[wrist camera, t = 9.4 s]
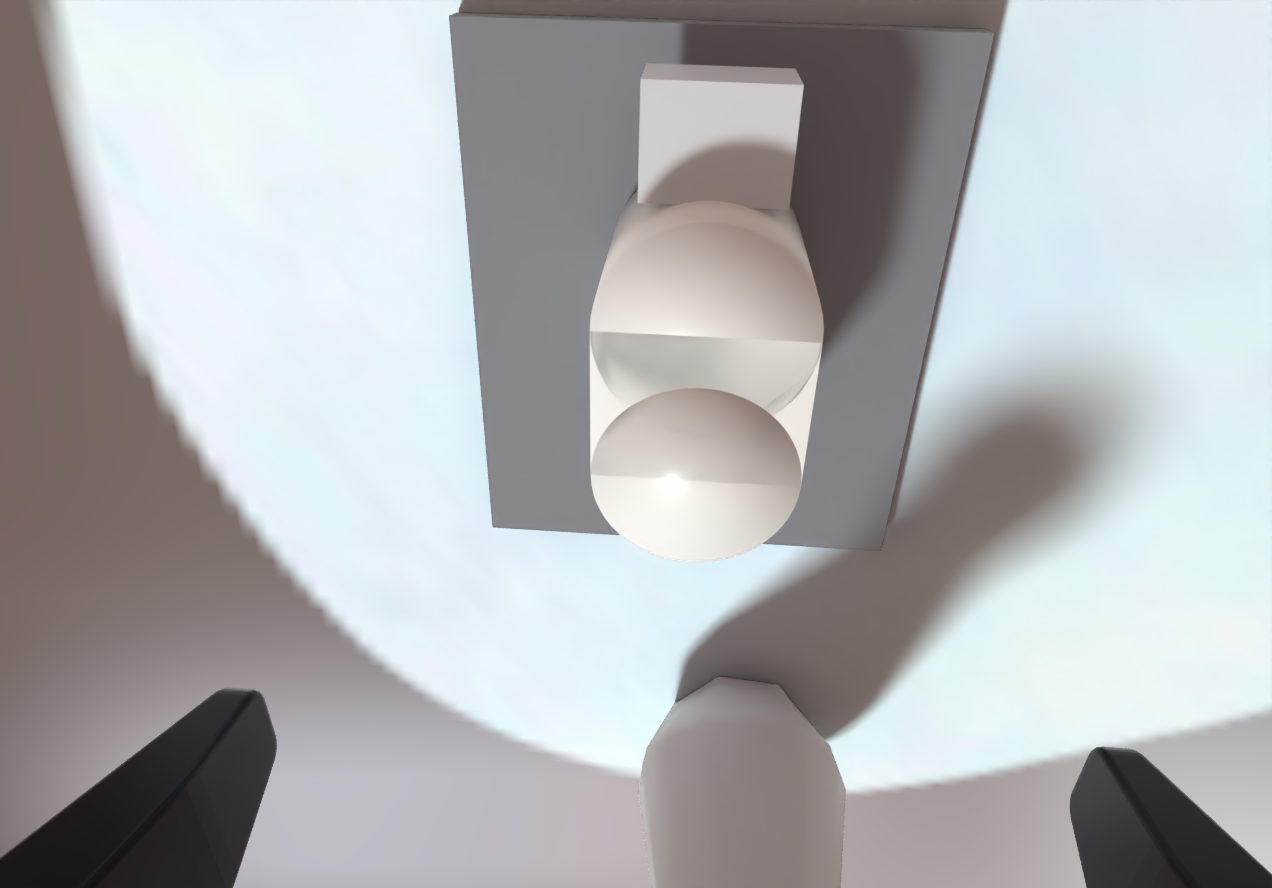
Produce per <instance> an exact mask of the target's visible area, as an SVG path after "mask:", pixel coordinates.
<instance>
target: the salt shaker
mask: <svg viewBox="0 0 1272 888" xmlns="http://www.w3.org/2000/svg"><path fill="white" fill-rule="evenodd" d="M845 793H846V790H845V787H844V784H843V781H842V778H841V775H840V772H839V769H838V767H837V764H836V761H835V759H834V756H833V754H832V751H831V748H830V746H829V744H828V743H827V742H826V741H825V740H824V739H823V738H822V736H821V735H820V734H819V733H818V732H817V731H816V729H815V728H814V727H813V726H812V725H811V724H810V723H809V721H808V720H807V719H806V718H805V717H804V716H803V714H802V713H801V712H800V711H799V710H798V709H797V708H796V706H795V705H794V704H793V703H792V702H791V700H790V699H789V698H788V696H787V695H786V693H785V692H784V691H783V689H782V688H781V687H780V685H779V684H771V683H764V682H756V681H749V680H741V679H734V678H726V677H719V676H718V677H717V678H715V679H713V680H712V681H710V682H709V683H707V684H705V685H704V686H702V687H700V688H699V689H697V690H696V691H694V692H692V693H691V694H689V695H688V696H686V697H684V698H683V699H681V700H679V701H678V702H676V703H675V704H674V705H673V706H672V708H671V710H670V711H669V713H668V715H667V716H666V718H665V719H664V721H663V723H662V724H661V726H660V728H659V729H658V731H657V732H656V734H655V736H654V737H653V739H652V740H651V742H650V744H649V745H648V747H647V749H646V753H645V757H644V761H643V766H642V772H641V778H640V784H639V791H638V794H639V801H640V809H641V816H642V823H643V831H644V839H645V846H646V853H647V860H648V868H649V876H650V883H651V888H840V887H841V870H842V850H843V831H844V812H845Z"/></svg>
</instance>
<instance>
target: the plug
mask: <svg viewBox="0 0 1272 888" xmlns="http://www.w3.org/2000/svg"><path fill="white" fill-rule="evenodd" d="M803 88H804V84H803V82H802V80H801V79H800V77H799V75H798V73H797V71H796V69H794V68H766V67H739V66H711V65H684V64H656V63H647V64H646V66H645V69H644V71H643V74H642V76H641V80H640V122H639V163H638V190H637V191H636V192H635V193H634V194H633V195H632V196H631V198H630V199H629V201H628V202H627V204H626V205H625V207H624V209H623V210H622V212H621V214H620V216H619V219H618V222H617V224H616V227H615V230H614V234H613V237H612V241H611V244H610V248H609V251H608V255H607V258H606V262H605V265H604V269H603V272H602V275H601V279H600V282H599V286H598V289H597V293H596V296H595V300H594V303H593V308H592V313H591V318H590V471H591V486H592V490H593V494H594V498H595V500H596V502H597V505H598V507H599V509H600V511H601V512H602V514H603V516H604V517H605V519H606V520H607V521H608V523H609V524H610V525H611V526H612V527H613V528H614V529H615V530H616V531H617V532H618V533H619V534H620V535H621V536H622V537H624V538H625V539H626V540H628V541H629V542H630V543H632V544H634V545H635V546H637V547H639V548H640V549H642V550H645V551H647V552H649V553H651V554H654V555H657V556H660V557H663V558H667V559H672V560H676V561H685V562H709V561H718V560H723V559H728V558H731V557H734V556H738V555H741V554H743V553H745V552H748V551H750V550H752V549H754V548H756V547H757V546H759V545H761V544H762V543H764V542H765V541H767V540H768V539H769V538H771V537H772V536H773V535H774V534H775V533H776V532H777V531H778V530H779V529H780V528H781V527H782V526H783V525H784V523H785V522H786V521H787V520H788V518H789V516H790V515H791V513H792V511H793V510H794V507H795V505H796V502H797V500H798V497H799V493H800V488H801V483H802V476H803V469H804V463H805V456H806V450H807V443H808V437H809V430H810V423H811V417H812V410H813V404H814V397H815V390H816V384H817V377H818V371H819V364H820V358H821V351H822V344H823V333H824V324H823V313H822V308H821V304H820V299H819V296H818V292H817V289H816V285H815V281H814V278H813V274H812V270H811V267H810V263H809V260H808V256H807V252H806V249H805V245H804V242H803V238H802V234H801V231H800V227H799V224H798V221H797V218H796V216H795V213H794V211H793V209H792V207H791V206H790V198H791V189H792V181H793V172H794V164H795V155H796V147H797V138H798V130H799V122H800V113H801V105H802V96H803Z"/></svg>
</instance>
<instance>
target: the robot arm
mask: <svg viewBox="0 0 1272 888" xmlns="http://www.w3.org/2000/svg"><path fill="white" fill-rule="evenodd" d="M276 750H277V740H276V735H275V731H274V728H273V725H272V722H271V718H270V715H269V711H268V708H267V705H266V702H265V698H264V697H263V695H262V693H260V692H259V691H258V690H255V689H243V688H224V689H221V690H219V691H217V692H216V693H214V694H213V695H211V696H210V697H209V698H207V699H206V700H205V701H203V702H202V703H201V704H200V705H198V706H197V707H196V708H194V709H193V710H192V711H190V712H189V713H188V714H187V715H185V716H184V717H183V718H182V719H180V720H179V721H177V722H176V723H175V724H174V725H172V726H171V727H170V728H168V729H167V730H166V731H164V732H163V733H162V734H161V735H159V736H158V737H157V738H155V739H154V740H153V741H152V742H150V743H149V744H148V745H146V746H145V747H144V748H142V749H141V750H140V751H138V752H137V753H136V754H135V755H133V756H132V757H131V758H129V759H128V760H127V761H126V762H124V763H123V764H121V765H120V766H119V767H118V768H116V769H115V770H114V771H112V772H111V773H110V774H108V775H107V776H106V777H104V778H103V779H102V780H101V781H99V782H98V783H97V784H95V785H94V786H93V787H92V788H90V789H89V790H88V791H86V792H85V793H84V794H82V795H81V796H80V797H78V798H77V799H76V800H75V801H73V802H72V803H71V804H69V805H68V806H67V807H65V808H64V809H63V810H62V811H60V812H59V813H58V814H56V815H55V816H54V817H52V818H51V819H50V820H49V821H47V822H46V823H45V824H43V825H42V826H41V827H40V828H38V829H37V830H35V831H34V832H33V833H32V834H30V835H29V836H28V837H26V838H25V839H24V840H23V841H21V842H20V843H19V844H17V845H16V846H15V847H13V848H12V849H11V850H9V851H8V852H7V853H6V854H4V855H3V856H2V857H0V888H233V886H234V883H235V880H236V877H237V874H238V871H239V868H240V865H241V862H242V859H243V856H244V853H245V849H246V847H247V844H248V841H249V837H250V834H251V831H252V828H253V825H254V822H255V819H256V816H257V813H258V810H259V807H260V803H261V800H262V797H263V794H264V791H265V788H266V785H267V782H268V779H269V776H270V773H271V770H272V767H273V763H274V760H275V756H276ZM1070 814H1071V820H1072V825H1073V829H1074V834H1075V838H1076V842H1077V847H1078V851H1079V856H1080V860H1081V865H1082V869H1083V873H1084V878H1085V882H1086V887H1087V888H1272V874H1271V873H1270V872H1269V871H1268V870H1267V869H1266V868H1265V867H1264V866H1262V865H1261V864H1260V863H1259V862H1258V861H1257V860H1256V859H1255V858H1254V857H1253V856H1252V855H1251V854H1249V853H1248V852H1247V851H1246V850H1245V849H1244V848H1243V847H1242V846H1241V845H1240V844H1239V843H1238V842H1236V841H1235V840H1234V839H1233V838H1232V837H1231V836H1230V835H1229V834H1228V833H1227V832H1226V831H1225V830H1224V829H1222V828H1221V827H1220V826H1219V825H1218V824H1217V823H1216V822H1215V821H1214V820H1213V819H1212V818H1211V817H1209V816H1208V815H1207V814H1206V813H1205V812H1204V811H1203V810H1202V809H1201V808H1200V807H1199V806H1198V805H1196V804H1195V803H1194V802H1193V801H1192V800H1191V799H1190V798H1189V797H1188V796H1187V795H1186V794H1185V793H1184V792H1182V791H1181V790H1180V789H1179V788H1178V787H1177V786H1176V785H1175V784H1174V783H1173V782H1172V781H1171V780H1169V779H1168V778H1167V777H1166V776H1165V775H1164V774H1163V773H1162V772H1161V771H1160V770H1159V769H1158V768H1157V767H1155V766H1154V765H1153V764H1152V763H1151V762H1150V761H1149V760H1148V759H1147V758H1146V757H1144V756H1143V755H1142V754H1140V753H1139V752H1137V751H1135V750H1132V749H1127V748H1113V747H1097V748H1095V749H1094V750H1092V751H1091V752H1090V754H1089V756H1088V758H1087V760H1086V762H1085V765H1084V767H1083V769H1082V771H1081V773H1080V776H1079V778H1078V780H1077V783H1076V785H1075V787H1074V789H1073V791H1072V794H1071V799H1070Z"/></svg>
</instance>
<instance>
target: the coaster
mask: <svg viewBox="0 0 1272 888" xmlns="http://www.w3.org/2000/svg"><path fill="white" fill-rule="evenodd" d="M449 21H450V33H451V45H452V57H453V68H454V80H455V92H456V103H457V115H458V127H459V139H460V150H461V162H462V174H463V186H464V197H465V209H466V221H467V232H468V244H469V256H470V268H471V279H472V291H473V303H474V314H475V326H476V338H477V350H478V361H479V373H480V385H481V397H482V408H483V420H484V432H485V443H486V455H487V467H488V479H489V490H490V502H491V514H492V525H493V527H495V528H511V529H528V530H544V531H561V532H577V533H594V534H610V535H620V534H619V533H618V532H617V531H616V530H615V529H614V528H613V527H612V526H611V525H610V524H609V523H608V521H607V520H606V519H605V517H604V516H603V514H602V512H601V511H600V509H599V507H598V505H597V502H596V500H595V498H594V494H593V490H592V486H591V471H590V318H591V313H592V308H593V303H594V300H595V296H596V293H597V289H598V286H599V282H600V279H601V275H602V272H603V269H604V265H605V262H606V258H607V255H608V251H609V248H610V244H611V241H612V237H613V234H614V230H615V227H616V224H617V222H618V219H619V216H620V214H621V212H622V210H623V209H624V207H625V205H626V204H627V202H628V201H629V199H630V198H631V196H632V195H633V194H634V193H635V192H636V191H637V190H638V163H639V122H640V80H641V76H642V74H643V71H644V69H645V66H646V64H647V63H656V64H684V65H711V66H739V67H766V68H794V69H796V71H797V73H798V75H799V77H800V79H801V80H802V82H803V84H804V88H803V96H802V105H801V113H800V122H799V130H798V138H797V147H796V155H795V164H794V172H793V181H792V189H791V198H790V206H791V207H792V209H793V211H794V213H795V216H796V218H797V221H798V224H799V227H800V231H801V234H802V238H803V242H804V245H805V249H806V252H807V256H808V260H809V263H810V267H811V270H812V274H813V278H814V281H815V285H816V289H817V292H818V296H819V299H820V304H821V308H822V313H823V324H824V333H823V344H822V351H821V358H820V364H819V371H818V377H817V384H816V390H815V397H814V404H813V410H812V417H811V423H810V430H809V437H808V443H807V450H806V456H805V463H804V469H803V476H802V483H801V488H800V493H799V497H798V500H797V502H796V505H795V507H794V510H793V511H792V513H791V515H790V516H789V518H788V520H787V521H786V522H785V523H784V525H783V526H782V527H781V528H780V529H779V530H778V531H777V532H776V533H775V534H774V535H773V536H772V537H771V538H769V539H768V540H767V541H765V542H764V543H762V544H774V545H791V546H807V547H824V548H840V549H856V550H873V551H881V549H882V544H883V540H884V535H885V531H886V526H887V521H888V517H889V512H890V508H891V503H892V499H893V494H894V490H895V485H896V480H897V476H898V471H899V467H900V462H901V458H902V453H903V448H904V444H905V439H906V435H907V430H908V426H909V421H910V417H911V412H912V407H913V403H914V398H915V394H916V389H917V385H918V380H919V376H920V371H921V366H922V362H923V357H924V353H925V348H926V344H927V339H928V334H929V330H930V325H931V321H932V316H933V312H934V307H935V303H936V298H937V293H938V289H939V284H940V280H941V275H942V271H943V266H944V261H945V257H946V252H947V248H948V243H949V239H950V234H951V230H952V225H953V220H954V216H955V211H956V207H957V202H958V198H959V193H960V189H961V184H962V179H963V175H964V170H965V166H966V161H967V157H968V152H969V147H970V143H971V138H972V134H973V129H974V125H975V120H976V116H977V111H978V106H979V102H980V97H981V93H982V88H983V84H984V79H985V75H986V70H987V65H988V61H989V56H990V52H991V47H992V43H993V38H994V33H993V32H991V31H989V30H987V29H971V28H938V27H906V26H874V25H841V24H809V23H777V22H744V21H712V20H680V19H647V18H615V17H583V16H550V15H518V14H486V13H455V14H453V15H450V16H449Z"/></svg>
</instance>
